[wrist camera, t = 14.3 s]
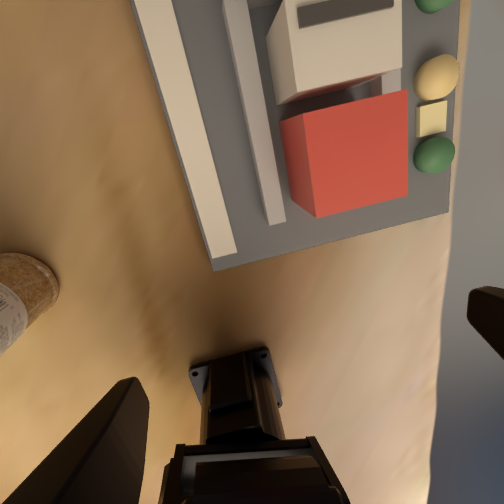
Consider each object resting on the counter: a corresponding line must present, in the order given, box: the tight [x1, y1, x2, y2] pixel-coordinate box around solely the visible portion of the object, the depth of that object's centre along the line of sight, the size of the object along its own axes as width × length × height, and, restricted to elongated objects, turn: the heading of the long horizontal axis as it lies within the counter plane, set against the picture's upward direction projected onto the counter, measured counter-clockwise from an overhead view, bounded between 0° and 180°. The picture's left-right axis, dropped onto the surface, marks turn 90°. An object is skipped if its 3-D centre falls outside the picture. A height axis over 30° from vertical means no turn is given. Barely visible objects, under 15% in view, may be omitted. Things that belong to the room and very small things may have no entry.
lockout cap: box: [279, 89, 408, 218], centre depth 14 cm, size 4×4×4 cm
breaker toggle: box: [265, 0, 402, 105], centre depth 12 cm, size 3×4×4 cm
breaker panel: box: [130, 0, 460, 272], centre depth 14 cm, size 20×16×3 cm
